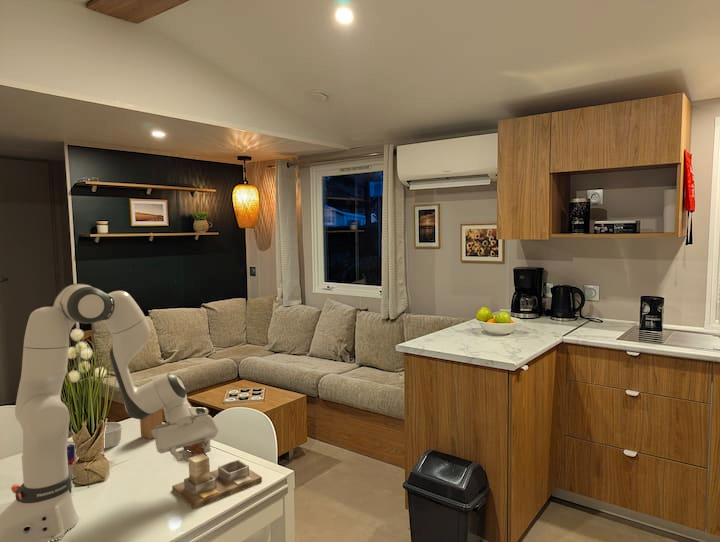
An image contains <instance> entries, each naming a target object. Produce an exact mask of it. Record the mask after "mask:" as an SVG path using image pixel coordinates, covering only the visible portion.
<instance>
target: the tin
mask: <svg viewBox="0 0 720 542" xmlns="http://www.w3.org/2000/svg"><path fill="white" fill-rule="evenodd" d="M206 444H207V443H205V442H204V441H201V442H198V443H195V444H192V445H188V446H185V447H182V448H183V450H185V451H186V450H189V451H191V452H193V453H192V454H194V453H196V454H195V455H197V454H198V455H199V454H202V453H203V454H204V455H205V454H206V453H205V451H204V448H205V446H206ZM191 452H190V453H191Z"/></svg>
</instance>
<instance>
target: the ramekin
mask: <svg viewBox="0 0 720 542" xmlns="http://www.w3.org/2000/svg"><path fill="white" fill-rule="evenodd" d="M105 423H106V425H107V427H106V431H105V449H104V450H107V449H110V448H109V447H111V448H113V447H115V446H117V445H118V444H119V443H120V442H121V440H122V430H123V425H122V423H120V422H115V421H113V422H112V421H110V422H105ZM106 448H107V449H106Z"/></svg>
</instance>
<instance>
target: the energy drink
mask: <svg viewBox="0 0 720 542" xmlns="http://www.w3.org/2000/svg"><path fill="white" fill-rule="evenodd" d="M74 442H75V441H71V440H70V441H67V458H68V472H69V474H70V476H71V481H73V480H72V474H73V469H74V465H75V463H76V462H77V463H78V456H77V455H76V451H77V449H76V450H75V444H76V443H75V444H74Z"/></svg>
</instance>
